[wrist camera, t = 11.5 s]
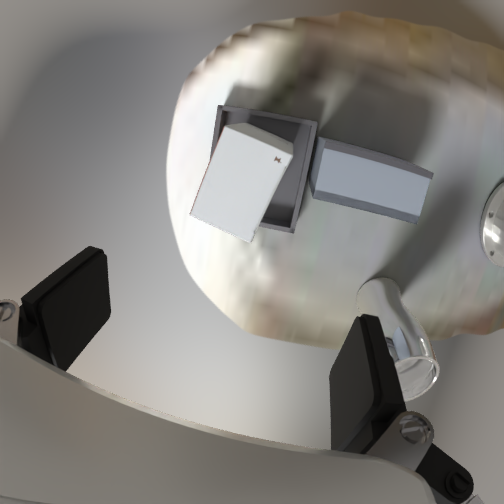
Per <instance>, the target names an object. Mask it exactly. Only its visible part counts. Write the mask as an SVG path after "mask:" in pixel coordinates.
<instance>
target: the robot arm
mask: <svg viewBox="0 0 504 504" xmlns="http://www.w3.org/2000/svg"><path fill="white" fill-rule="evenodd" d="M480 238H481V244H482V247H483V250H484V253H485V254H486V256H487V257H488V258H489V259H490V260H491V261H492V262H493V263H494V264H496V265H497V266H501V267H504V182H503V183H501V184H500V185H499V186H498V187H497V188H496V189H495V190H494V192H493V193H492V194H491V196H490V197H489V199H488V201H487V203H486V206H485V209H484V211H483V215H482V219H481V227H480ZM21 301H22V305H21V306H20V307H19V305H18V304H17V303H16V302H15V301H13V300H10V299H4V300H0V504H484V503H483V501H482V500H481V499H480V497H479V496H478V495H475V496H473V494H472V492H473V485H474V483H473V479H472V477H471V475H470V473H469V472H468V471H467V470H466V469H465V468H463V467H462V466H461V465H460V464H458V463H457V462H456V461H455V460H453V459H452V458H451V457H449V456H448V455H447V454H446V453H444V452H443V451H442V450H441V449H439V448H438V447H437V446H436V445H434V444H433V443H432V442H433V439H434V429H433V426H432V424H431V422H430V421H429V420H428V419H427V418H426V417H425V416H424V415H422V414H420V413H418V412H414V411H407V410H406V406H405V401H404V397H403V393H402V389H401V385H400V382H399V378H398V374H397V370H396V367H395V363H394V359H393V357H392V356H391V355H390V353H389V349H388V346H387V342H386V339H385V335H384V332H383V329H382V325H381V322H380V319H379V317H378V316H374V315H369V314H362V315H361V317H358V316H357V317H356V318H355V320H354V322H353V325H352V327H351V329H350V331H349V333H348V336H347V338H346V340H345V342H344V344H343V346H342V348H341V350H340V352H339V355H338V356H337V359H336V360H335V363H334V364H333V366H332V368H331V371H330V376H329V381H330V406H331V450H326V449H318V448H310V447H304V446H298V445H292V444H286V443H280V442H275V441H269V440H263V439H259V438H254V437H249V436H245V435H240V434H236V433H232V432H228V431H224V430H220V429H216V428H212V427H208V426H205V425H201V424H198V423H194V422H191V421H187V420H184V419H181V418H178V417H175V416H172V415H169V414H166V413H163V412H160V411H157V410H154V409H151V408H148V407H146V406H143V405H140V404H138V403H135V402H132V401H130V400H127V399H125V398H122V397H120V396H117V395H115V394H113V393H110V392H108V391H106V390H103V389H101V388H99V387H96V386H94V385H92V384H90V383H88V382H85V381H83V380H81V379H79V378H77V377H75V376H73V375H71V374H69V373H67V372H66V371H67V369H68V368H69V367H70V365H71V364H72V363H73V362H74V360H75V359H76V358H77V357H78V355H79V354H80V353H81V352H82V351H83V349H84V348H85V347H86V346H87V344H88V343H89V342H90V341H91V339H92V338H93V337H94V336H95V335H96V333H97V332H98V331H99V330H100V329H101V327H102V326H103V325H104V324H105V323H106V322H107V320H108V319H109V317H110V314H111V306H110V295H109V282H108V266H107V256H106V255H105V254H104V251H103V250H102V249H99V248H95V247H92V246H88V247H87V248H85V249H84V250H83V251H81V252H80V253H78V254H77V255H76V256H74V257H73V258H72V259H70V260H69V261H68V262H66V263H65V264H64V265H62V266H61V267H60V268H58V269H57V270H56V271H54V272H53V273H52V274H50V275H49V276H48V277H47V278H45V279H44V280H43V281H42V282H40V283H39V284H38V285H37V286H35V287H34V288H33V289H32V290H30V291H29V292H28V293H27V294H25V295H24V296H23V297H22V298H21Z"/></svg>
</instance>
